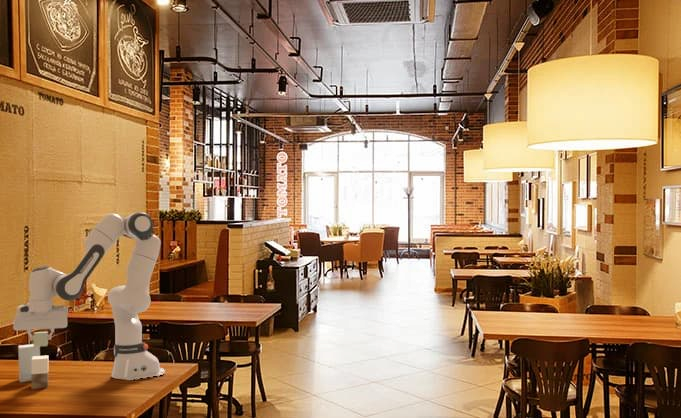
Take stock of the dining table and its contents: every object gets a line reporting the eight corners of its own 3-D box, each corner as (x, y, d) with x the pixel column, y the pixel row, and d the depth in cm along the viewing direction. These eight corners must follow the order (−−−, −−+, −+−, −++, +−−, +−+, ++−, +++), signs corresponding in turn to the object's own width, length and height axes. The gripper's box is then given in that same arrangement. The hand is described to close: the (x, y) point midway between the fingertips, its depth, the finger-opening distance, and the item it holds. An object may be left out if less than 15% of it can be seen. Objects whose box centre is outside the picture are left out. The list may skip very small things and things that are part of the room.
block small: (47, 343, 268) (47, 331, 268) (47, 345, 263) (47, 333, 263) (34, 344, 266) (34, 332, 266) (33, 346, 261) (33, 334, 261)
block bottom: (48, 384, 269) (48, 369, 269) (47, 387, 263) (47, 373, 263) (32, 385, 267) (32, 370, 267) (31, 389, 261) (31, 374, 261)
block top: (48, 369, 269) (48, 355, 269) (47, 373, 263) (47, 358, 263) (32, 370, 267) (32, 356, 267) (31, 374, 261) (31, 359, 261)
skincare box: (39, 377, 280) (39, 342, 280) (40, 380, 275) (40, 345, 275) (17, 379, 276) (18, 344, 276) (18, 382, 271) (18, 347, 271)
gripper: (68, 304, 271) (68, 336, 271) (14, 306, 264) (14, 340, 264) (68, 306, 265) (68, 339, 265) (12, 308, 258) (12, 343, 258)
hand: (40, 340), depth 264 cm, fingers closed on block small, 5 cm apart
